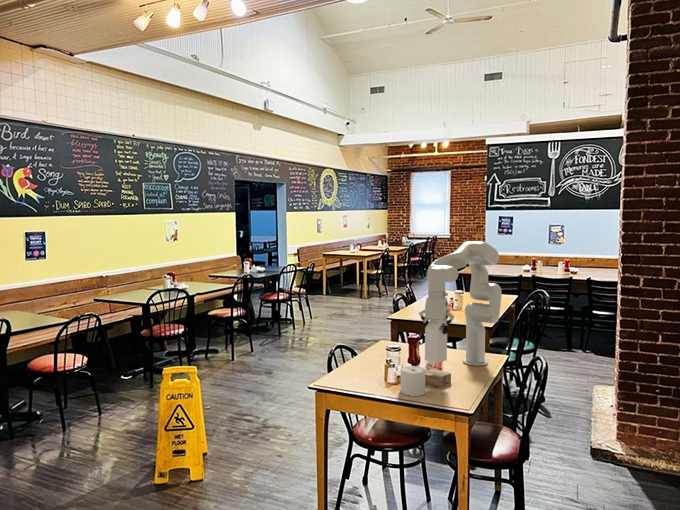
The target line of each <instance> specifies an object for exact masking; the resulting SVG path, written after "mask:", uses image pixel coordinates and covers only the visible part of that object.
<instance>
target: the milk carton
mask: <svg viewBox="0 0 680 510" xmlns="http://www.w3.org/2000/svg"><path fill="white" fill-rule="evenodd" d="M428 322H429V323H428V325H427V326H426V327H425V329H424V360H425V361H427V362H431V363H434V364H438V363H443V362H445V361H447V360H448V359H447V358H448V357H447V356H448V333H447V334H443V326H444V323H443V321H442V320H434V319H429V321H428Z"/></svg>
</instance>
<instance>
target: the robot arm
mask: <svg viewBox="0 0 680 510" xmlns="http://www.w3.org/2000/svg"><path fill="white" fill-rule="evenodd" d="M499 260H500V254H499V252H498V250H497V249H496V248H494V247H493V246H492V245H491V244H490V243H487V242H485V241H476V240H475V241H471V240H470V241H469V240H468V241H464V242H463V243H461V244H460V246H458V247H457V249H455V250H454V252H452V253H449V254H447V255H444V256H441V257H439V258H437V259H435V260H434V261H433V262H432V263H431V264H430V265H428V269H427V271H426V276H427V279H428V285H427V287H428V288H427V289H428V290H427V293H428V294H427V295H428V296H426V300H425V304H424V305H425V306H424V309H423V310H421V311H420V312H418V315H419V316H420V319H421V320H422V322H423V325H424V326H423V328H424V330H425V327H426V326H427V325H428V323H429V322H430V319H434V320H441V321H443V324H444V326H443V334H447V335H448V332H449V325H450V324H451V323H452V322H453V321H454V319H455V316H454V314H452V313H451V312H449V303H448V295H449V293H448V292H447V291H446V283H454V282H456V280H458V277H459V271H458V270H459V269H462V268H464V267H466V266H467V265H469V268H470V272H471V276H470V277H471V278H470V286H469V297H470V298H471V299H472V300H475V301H480V302H481V303H480V302H469V303H467V304H466V305H465V307H464V315H465V316H464V318H465V325H466V326H465V328H466V329H465V330H466V331H465V332H466V333H465V334H466V335H465V357H464V358H463V359H462V363H463V364H465V365H469V366H475V367H482V366H486V365H488V362H489V361H488V360H487V359H485V357H486V356H485V355H486V349H485V348H486V328H485V325H484V324H483V323H485V324H496V323H498V322H499V319H500V314H501V305H502V304H501V303H502V296H503V295H502V288H501V286H500V285H499V284H498V283H494V282H492V283H491V282H489V271H488V269H487V268H486V266H495V265H497V264H498V262H499ZM482 301H483V302H489V303H482Z"/></svg>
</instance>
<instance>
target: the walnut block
mask: <svg viewBox="0 0 680 510" xmlns="http://www.w3.org/2000/svg"><path fill="white" fill-rule="evenodd" d="M451 382H452V373H451V372H448V371H444V370H441V369H436V368H431V369H427V370H426V371H425V386H429V387H431V388H432V387H433V388H436V389H441V388H443V387H445V386H447V384H448V385H450V384H452V383H451Z"/></svg>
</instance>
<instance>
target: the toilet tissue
mask: <svg viewBox="0 0 680 510" xmlns="http://www.w3.org/2000/svg"><path fill="white" fill-rule="evenodd" d="M425 371H427V370H426V369H425V368H424V367H422V366H414V365H408V366H404V365H403V364H402V365H401V366H400V393H401V394H402V395H405V396H408V395H409V397H421V396H423V395H425V394H426V385H425Z"/></svg>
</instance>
